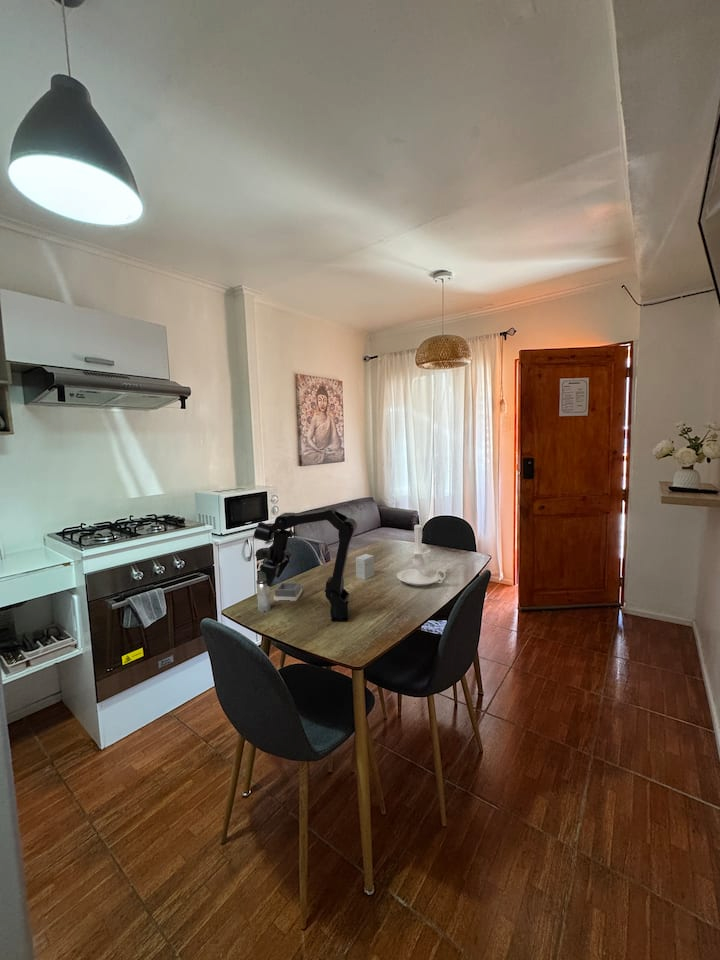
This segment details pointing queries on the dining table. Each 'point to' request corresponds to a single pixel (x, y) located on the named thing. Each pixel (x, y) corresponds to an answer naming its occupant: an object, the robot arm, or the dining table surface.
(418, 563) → the candlestick
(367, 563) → the small box
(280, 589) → the holder
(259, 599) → the black-capped silver cylinder
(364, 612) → the dining table surface
